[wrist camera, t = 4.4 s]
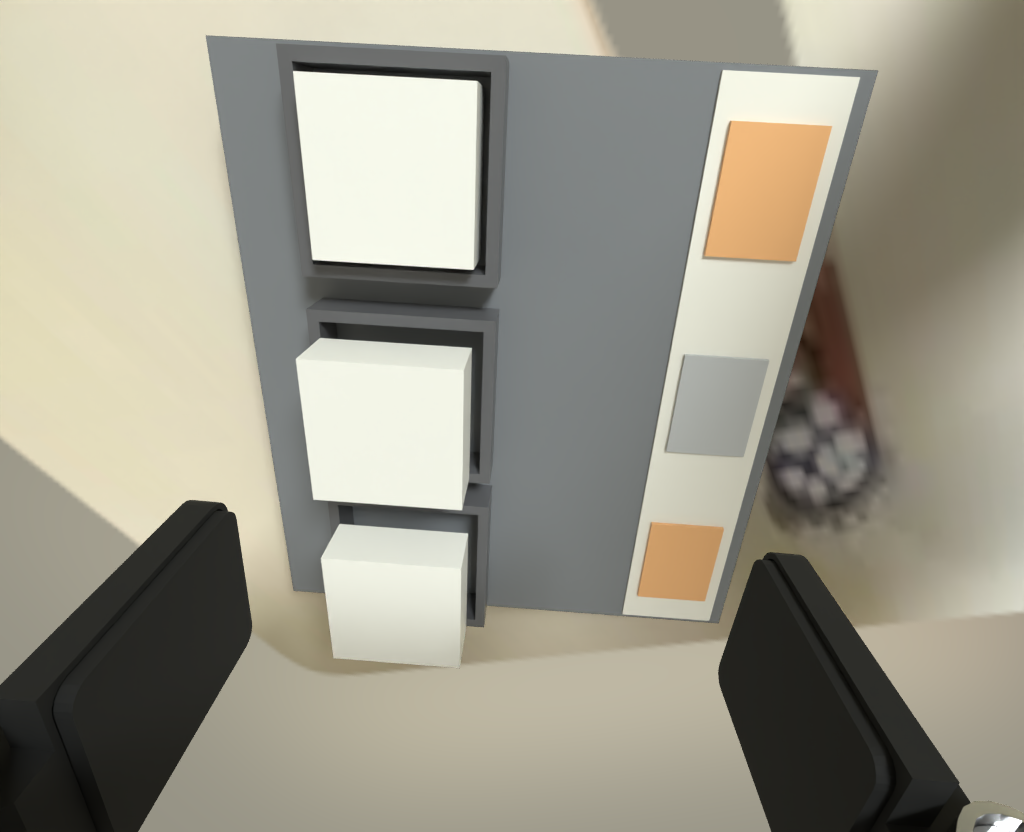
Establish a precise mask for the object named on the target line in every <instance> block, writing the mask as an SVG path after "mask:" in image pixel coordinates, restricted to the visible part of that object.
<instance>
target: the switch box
mask: <svg viewBox="0 0 1024 832" xmlns="http://www.w3.org/2000/svg"><path fill="white" fill-rule="evenodd" d="M206 40H207V47H208V53H209V59H210V66H211V72H212V78H213V85H214V91H215V97H216V103H217V110H218V116H219V122H220V129H221V135H222V141H223V148H224V154H225V160H226V167H227V173H228V179H229V186H230V192H231V198H232V204H233V211H234V217H235V223H236V230H237V236H238V242H239V249H240V255H241V261H242V268H243V274H244V280H245V287H246V293H247V299H248V305H249V312H250V318H251V324H252V331H253V337H254V343H255V350H256V356H257V362H258V369H259V375H260V381H261V388H262V394H263V400H264V406H265V413H266V419H267V425H268V432H269V438H270V444H271V451H272V457H273V463H274V470H275V476H276V482H277V489H278V495H279V501H280V507H281V514H282V520H283V526H284V533H285V539H286V545H287V552H288V558H289V564H290V571H291V577H292V583H293V590H294V591H304V592H317V593H325V588H324V580H323V572H322V564H321V557H322V555H323V553H324V551H325V550H326V548H327V546H328V544H329V542H330V540H331V539H332V537H333V535H334V533H335V531H336V529H337V527H338V526H339V524H347V525H360V526H374V527H387V528H401V529H415V530H428V531H442V532H455V533H468V564H467V614H466V626H474V627H484V623H485V615H486V607H487V606H500V607H513V608H526V609H539V610H552V611H565V612H578V613H591V614H604V615H617V616H630V617H643V618H656V619H669V620H682V621H695V622H708V623H719V620H720V616H721V613H722V610H723V606H724V603H725V599H726V596H727V592H728V589H729V585H730V582H731V578H732V575H733V571H734V568H735V565H736V561H737V558H738V554H739V551H740V547H741V544H742V540H743V537H744V533H745V530H746V526H747V523H748V520H749V516H750V513H751V509H752V506H753V502H754V499H755V495H756V492H757V488H758V485H759V481H760V478H761V475H762V471H763V468H764V464H765V461H766V457H767V454H768V450H769V447H770V443H771V440H772V436H773V433H774V429H775V426H776V423H777V419H778V416H779V412H780V409H781V405H782V402H783V398H784V395H785V391H786V388H787V384H788V381H789V378H790V374H791V371H792V367H793V364H794V360H795V357H796V353H797V350H798V346H799V343H800V339H801V336H802V333H803V329H804V326H805V322H806V319H807V315H808V312H809V308H810V305H811V301H812V298H813V294H814V291H815V288H816V284H817V281H818V277H819V274H820V270H821V267H822V263H823V260H824V256H825V253H826V249H827V246H828V243H829V239H830V236H831V232H832V229H833V225H834V222H835V218H836V215H837V211H838V208H839V204H840V201H841V197H842V194H843V191H844V187H845V184H846V180H847V177H848V173H849V170H850V166H851V163H852V159H853V156H854V152H855V149H856V146H857V142H858V139H859V135H860V132H861V128H862V125H863V121H864V118H865V114H866V111H867V107H868V104H869V101H870V97H871V94H872V90H873V87H874V83H875V80H876V76H877V73H878V71H877V70H858V69H838V68H819V67H800V66H781V65H762V64H761V65H760V64H742V63H723V62H722V63H721V62H703V61H685V60H665V59H646V58H628V57H609V56H590V55H570V54H551V53H532V52H513V51H494V50H475V49H456V48H436V47H417V46H398V45H379V44H360V43H341V42H322V41H302V40H283V39H264V38H245V37H226V36H207V35H206ZM293 71H301V72H320V73H338V74H357V75H376V76H394V77H413V78H432V79H450V80H469V81H478V82H479V83H480V84H481V85H482V86H483V87H484V88H485V90H484V130H483V170H482V210H481V249H480V259H479V261H478V263H477V265H476V267H475V268H474V270H467V269H451V268H435V267H419V266H402V265H386V264H370V263H354V262H338V261H322V260H313V259H312V250H311V240H310V230H309V221H308V211H307V202H306V192H305V182H304V173H303V163H302V153H301V144H300V134H299V124H298V115H297V105H296V95H295V86H294V76H293ZM319 338H328V339H343V340H358V341H374V342H389V343H404V344H419V345H435V346H450V347H465V348H472V364H471V414H470V464H469V481H468V486H467V490H466V495H465V499H464V504H463V508H462V510H449V509H435V508H422V507H408V506H394V505H380V504H367V503H353V502H339V501H325V500H313V493H312V485H311V477H310V469H309V461H308V453H307V445H306V437H305V429H304V421H303V413H302V405H301V398H300V390H299V382H298V374H297V366H296V358H297V357H298V356H300V355H301V354H302V353H303V352H304V351H305V350H307V349H308V348H309V347H310V346H311V345H312V344H314V343H315V342H316V341H317V340H318V339H319Z"/></svg>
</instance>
